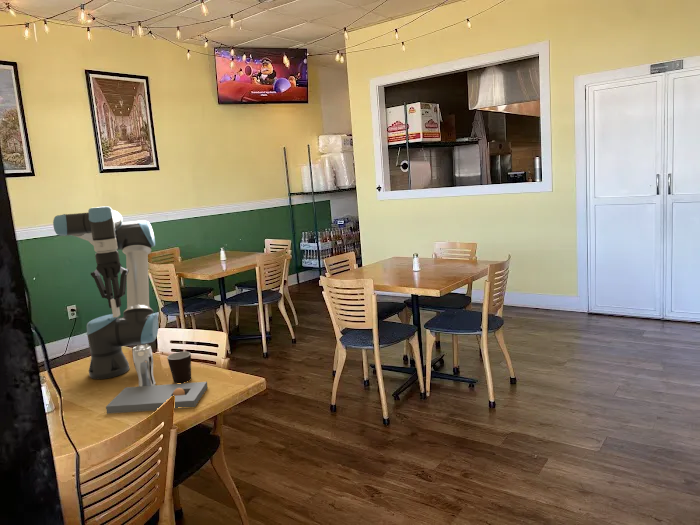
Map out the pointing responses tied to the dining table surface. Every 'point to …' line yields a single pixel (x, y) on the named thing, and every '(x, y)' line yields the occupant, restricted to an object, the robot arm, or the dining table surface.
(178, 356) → the coffee mug
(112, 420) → the dining table surface
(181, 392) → the ball
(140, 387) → the board
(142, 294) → the robot arm
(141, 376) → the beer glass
